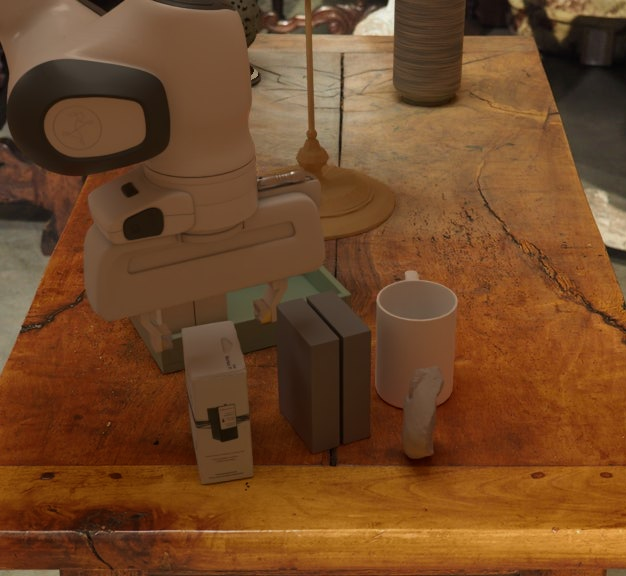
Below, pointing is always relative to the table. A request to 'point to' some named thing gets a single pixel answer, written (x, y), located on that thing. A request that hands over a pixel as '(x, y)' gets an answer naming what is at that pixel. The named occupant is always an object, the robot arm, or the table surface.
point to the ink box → (218, 402)
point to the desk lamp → (338, 176)
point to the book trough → (249, 316)
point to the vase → (428, 50)
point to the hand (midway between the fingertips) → (215, 334)
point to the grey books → (324, 370)
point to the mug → (414, 335)
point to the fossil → (421, 412)
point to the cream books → (194, 313)
